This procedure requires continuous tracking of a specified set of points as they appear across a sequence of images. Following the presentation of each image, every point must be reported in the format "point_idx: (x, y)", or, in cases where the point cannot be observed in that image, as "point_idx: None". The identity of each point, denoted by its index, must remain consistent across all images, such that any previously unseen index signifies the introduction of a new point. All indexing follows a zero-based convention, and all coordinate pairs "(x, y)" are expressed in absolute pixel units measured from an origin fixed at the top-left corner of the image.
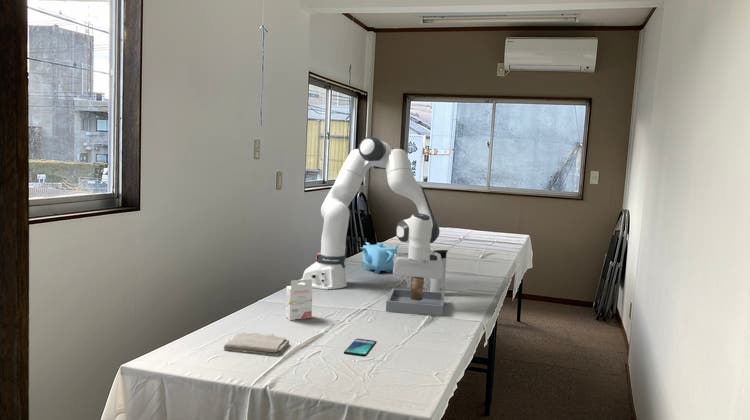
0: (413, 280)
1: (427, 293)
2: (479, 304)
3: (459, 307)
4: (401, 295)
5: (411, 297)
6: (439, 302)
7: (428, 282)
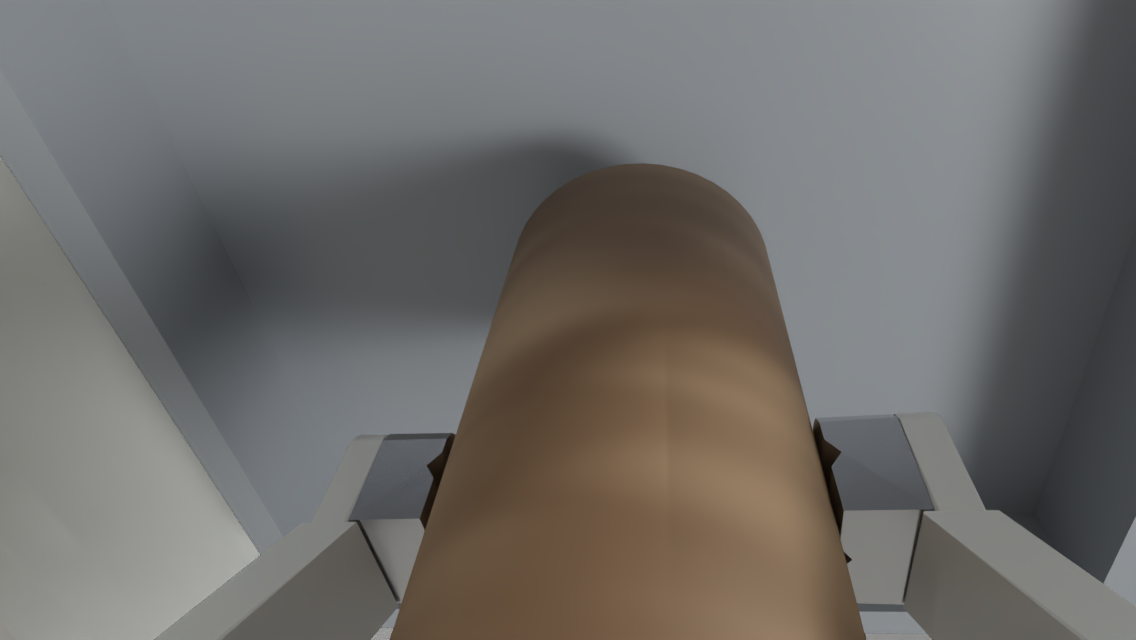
0: (776, 575)
1: None
2: (7, 542)
3: (86, 385)
4: None
5: (742, 220)
6: (335, 428)
7: (225, 588)
